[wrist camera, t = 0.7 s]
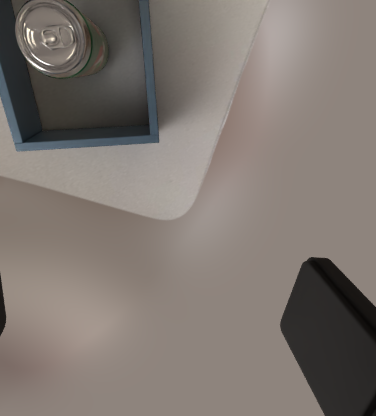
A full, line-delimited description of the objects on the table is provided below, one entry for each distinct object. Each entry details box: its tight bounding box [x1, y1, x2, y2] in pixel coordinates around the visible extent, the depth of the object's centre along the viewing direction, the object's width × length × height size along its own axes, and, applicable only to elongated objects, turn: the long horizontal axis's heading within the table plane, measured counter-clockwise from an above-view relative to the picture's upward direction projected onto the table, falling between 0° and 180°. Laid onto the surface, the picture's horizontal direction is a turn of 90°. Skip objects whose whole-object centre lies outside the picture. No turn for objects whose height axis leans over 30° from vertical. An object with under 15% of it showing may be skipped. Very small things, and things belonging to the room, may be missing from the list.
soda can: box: [15, 0, 109, 79], centre depth 25 cm, size 5×5×12 cm
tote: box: [0, 0, 159, 152], centre depth 27 cm, size 18×14×6 cm
